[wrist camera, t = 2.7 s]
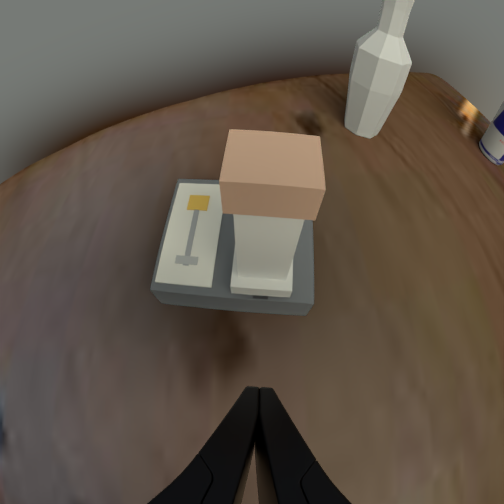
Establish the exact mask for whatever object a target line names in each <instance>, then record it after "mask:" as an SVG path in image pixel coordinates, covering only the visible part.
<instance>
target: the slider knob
mask: <svg viewBox="0 0 504 504" xmlns="http://www.w3.org/2000/svg"><path fill="white" fill-rule="evenodd" d="M219 185H220V194H221V203H222V211H223V214H233V217H234V231H235V250H234V258H233V267H232V275H231V284H230V288H231V293H234V294H247V295H260V296H274V297H289V298H290V296H291V293H292V283H293V257H294V253H295V250H296V247H297V243H298V240H299V237H300V233H301V230H302V227H303V223H304V220H316V217H317V214H318V211H319V208H320V205H321V202H322V199H323V196H324V193H325V190H326V188H325V178H324V168H323V159H322V151H321V143H320V136H311V135H302V134H293V133H282V132H269V131H254V130H234V129H230V130H229V135H228V140H227V144H226V149H225V154H224V159H223V164H222V169H221V174H220V179H219Z"/></svg>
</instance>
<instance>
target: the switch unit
mask: <svg viewBox="0 0 504 504" xmlns="http://www.w3.org/2000/svg"><path fill="white" fill-rule="evenodd" d="M234 250H235V231H234V217H233V214H223V211H222V203H221V194H220V185H219V180H200V179H178V181H177V185H176V188H175V191H174V195H173V198H172V202H171V205H170V209H169V213H168V216H167V220H166V224H165V228H164V232H163V235H162V239H161V243H160V248H159V252H158V256H157V260H156V264H155V269H154V273H153V278H152V283H151V287H150V290H151V292H152V293H153V294H154V295H155V296H156V298H157V299H158V300H159V301H160V302H161V303H164V304H172V305H180V306H189V307H199V308H209V309H219V310H230V311H242V312H254V313H268V314H284V315H302V316H306V315H307V313H308V312H309V310H310V309H311V308H312V306H313V305H314V250H313V220H304V223H303V227H302V230H301V233H300V237H299V240H298V243H297V247H296V250H295V253H294V257H293V283H292V293H291V296H290V298H289V297H274V296H260V295H247V294H234V293H231V288H230V284H231V275H232V267H233V258H234Z"/></svg>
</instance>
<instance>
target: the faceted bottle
mask: <svg viewBox="0 0 504 504" xmlns="http://www.w3.org/2000/svg"><path fill="white" fill-rule="evenodd" d="M414 1H415V0H382V6H381V10H380V15H379V20H378V23H377V27H376V28H374V29H373V30H371V31H370V32H368V33H367V34H365V35H364V36H362V37H361V38H360V39H358V40H357V42H356V47H355V51H354V55H353V60H352V64H351V68H350V75H349V85H348V94H347V102H346V110H345V118H344V121H345V127H346V128H347V129H349V130H350V131H351V132H353V133H354V134H356V135H358V136H362V137H366V138H372V137H374V136H375V135H377V134H378V132H379V131H380V129H381V127H382V126H383V124H384V122H385V120H386V119H387V117H388V115H389V113H390V112H391V110H392V108H393V106H394V105H395V103H396V101H397V99H398V98H399V96H400V94H401V92H402V89H403V87H404V84H405V81H406V79H407V76H408V73H409V70H410V67H411V64H412V62H411V59H410V56H409V53H408V50H407V47H406V45H405V42H404V39H403V35H404V32H405V28H406V25H407V21H408V17H409V13H410V11H411V8H412V6H413V3H414Z"/></svg>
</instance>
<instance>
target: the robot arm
mask: <svg viewBox="0 0 504 504" xmlns="http://www.w3.org/2000/svg"><path fill="white" fill-rule="evenodd" d="M254 444H255V460H256V473H257V486H258V498H259V504H351V503H350V502H349V500H348V499H347V498H346V497H345V496H344V495H343V494H342V493H341V492H340V491H339V490H338V488H337V487H336V486H335V485H334V484H333V483H332V481H331V480H330V479H329V477H328V476H327V475H326V473H325V472H324V470H323V469H322V467H321V466H320V464H319V463H318V461H316V458H315V457H314V455H313V454H312V452H311V450H310V449H309V447H308V446H307V444H306V442H305V441H304V439H303V438H302V436H301V434H300V433H299V431H298V430H297V428H296V426H295V425H294V423H293V421H292V420H291V418H290V417H289V415H288V413H287V412H286V410H285V408H284V407H283V405H282V403H281V401H280V400H279V398H278V396H277V395H276V393H275V391H274V390H273V388H267V387H261V388H260V389H259V387H252V386H247V387H246V388H245V389H244V391H243V392H242V394H241V395H240V396H239V398H238V399H237V401H236V402H235V404H234V405H233V406H232V408H231V409H230V411H229V412H228V414H227V415H226V416H225V418H224V419H223V420H222V422H221V423H220V425H219V426H218V427H217V429H216V430H215V431H214V433H213V434H212V435H211V437H210V438H209V439H208V441H207V442H206V443H205V445H204V446H203V447H202V449H201V450H200V451H199V453H198V454H197V455H196V456H195V458H194V459H193V460H192V461H191V463H190V464H189V465H188V466H187V467H186V469H185V470H184V471H183V472H182V473H181V474H180V475H179V476H178V477H177V478H176V479H175V480H174V481H173V482H172V483H171V484H170V485H168V486H167V487H166V488H165V489H164V490H163V491H162V492H160V493H159V494H158V495H157V496H156V497H155V498H153V499H152V500H151V501H150V502H149V503H147V504H241V502H242V498H243V494H244V489H245V485H246V481H247V477H248V473H249V468H250V464H251V460H252V455H253V451H254Z"/></svg>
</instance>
